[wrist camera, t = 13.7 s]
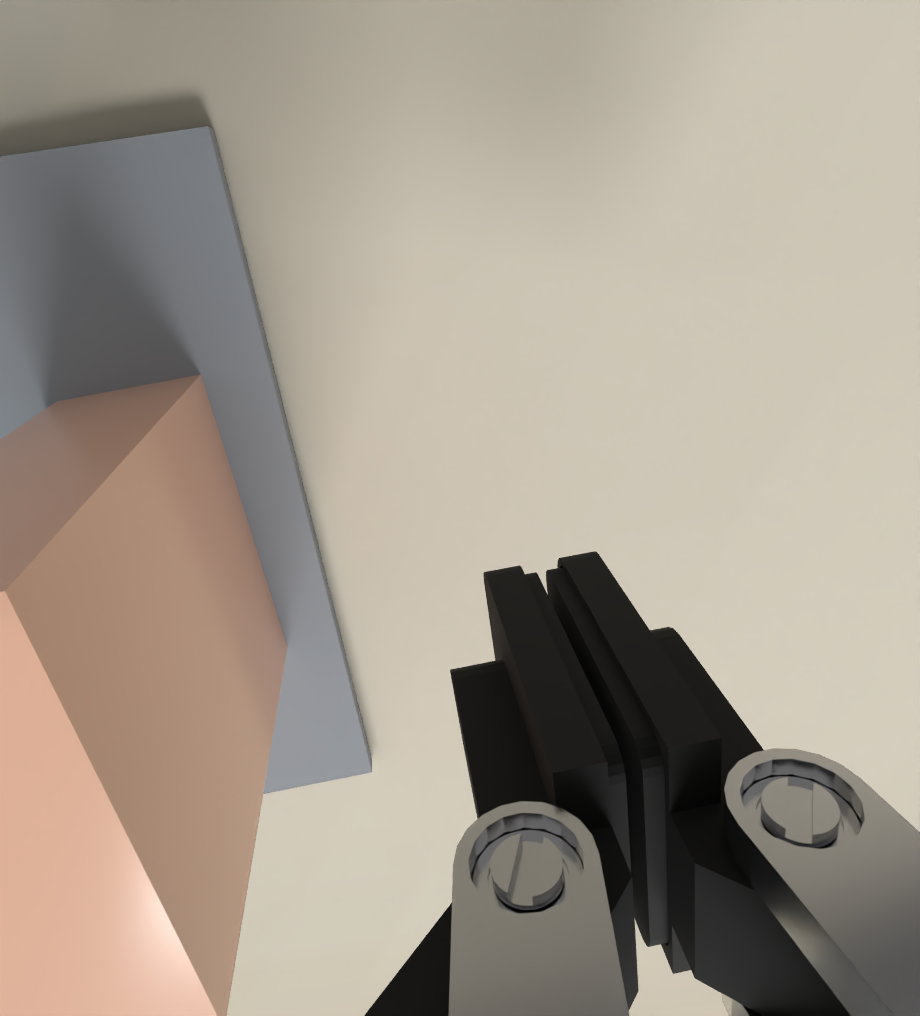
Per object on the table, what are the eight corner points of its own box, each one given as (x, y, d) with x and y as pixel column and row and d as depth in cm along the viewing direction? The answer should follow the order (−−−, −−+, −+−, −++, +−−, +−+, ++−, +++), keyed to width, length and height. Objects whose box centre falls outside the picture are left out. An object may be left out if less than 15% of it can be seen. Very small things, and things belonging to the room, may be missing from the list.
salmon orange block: (201, 374, 15) (5, 591, 7) (287, 646, 18) (223, 1028, 10) (42, 404, 15) (-356, 662, 7) (155, 674, 18) (-23, 1086, 9)
